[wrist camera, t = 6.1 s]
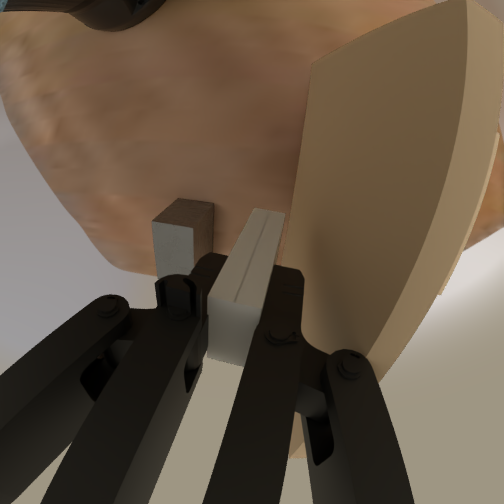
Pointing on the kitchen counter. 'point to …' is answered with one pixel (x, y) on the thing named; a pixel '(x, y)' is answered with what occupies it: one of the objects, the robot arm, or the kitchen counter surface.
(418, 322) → the lid
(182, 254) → the block
